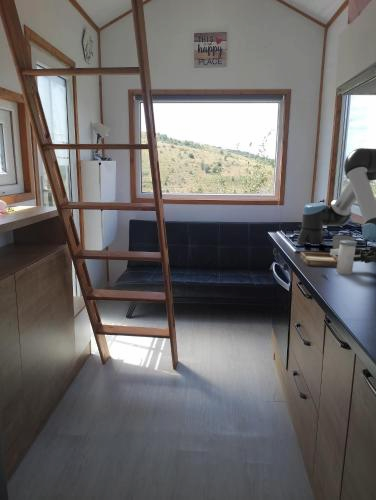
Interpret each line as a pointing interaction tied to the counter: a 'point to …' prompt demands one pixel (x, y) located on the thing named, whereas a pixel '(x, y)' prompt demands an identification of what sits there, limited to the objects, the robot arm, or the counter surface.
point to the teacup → (337, 240)
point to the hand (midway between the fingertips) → (338, 255)
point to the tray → (319, 259)
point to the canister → (345, 249)
